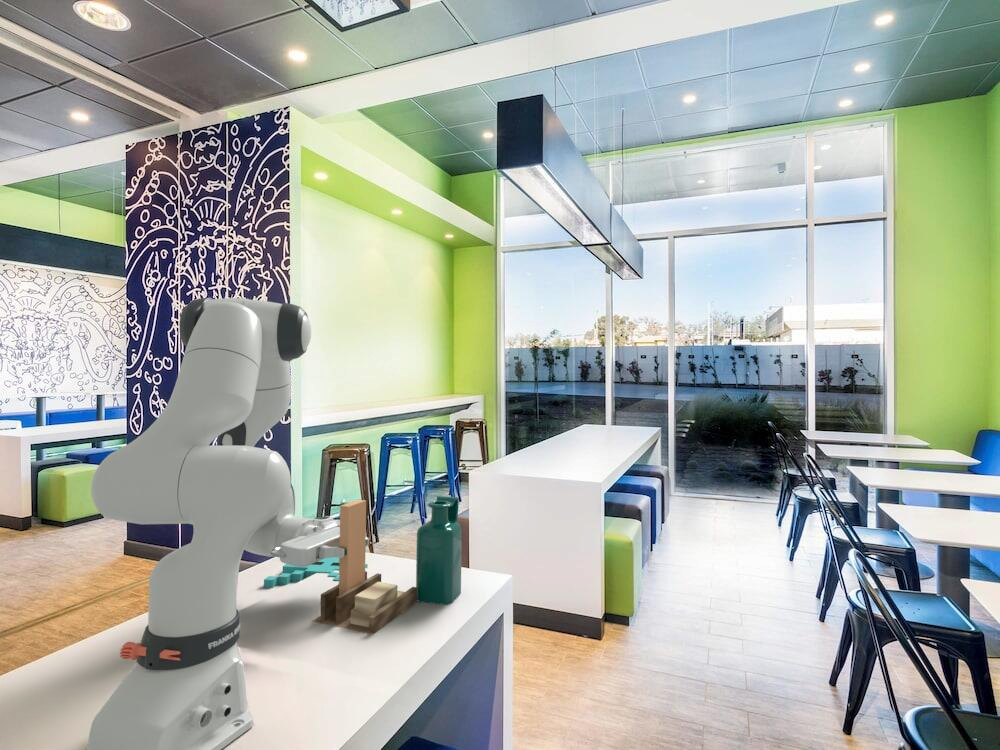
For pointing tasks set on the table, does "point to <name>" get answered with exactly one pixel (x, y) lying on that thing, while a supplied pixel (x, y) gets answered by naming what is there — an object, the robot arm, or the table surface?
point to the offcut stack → (372, 601)
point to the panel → (352, 544)
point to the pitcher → (439, 554)
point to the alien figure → (305, 572)
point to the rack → (340, 607)
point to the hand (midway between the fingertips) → (356, 547)
